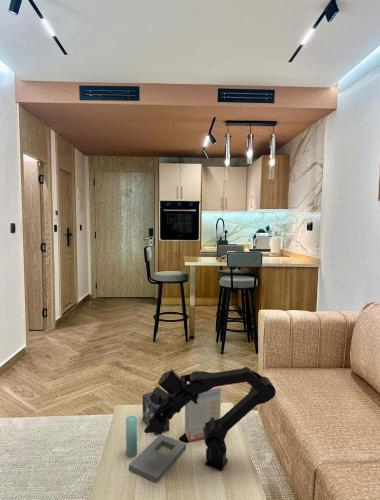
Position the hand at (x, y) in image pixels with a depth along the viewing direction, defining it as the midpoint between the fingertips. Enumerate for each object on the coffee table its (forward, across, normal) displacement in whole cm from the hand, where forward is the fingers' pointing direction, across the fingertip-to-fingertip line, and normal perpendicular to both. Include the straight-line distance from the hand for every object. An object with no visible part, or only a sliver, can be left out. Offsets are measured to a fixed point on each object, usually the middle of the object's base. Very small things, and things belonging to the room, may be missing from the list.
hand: (149, 424), depth 123 cm
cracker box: (-2, -18, +21) cm, 28 cm away
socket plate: (+6, 0, +12) cm, 13 cm away
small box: (+13, -19, +6) cm, 24 cm away
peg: (+14, 0, +4) cm, 15 cm away
